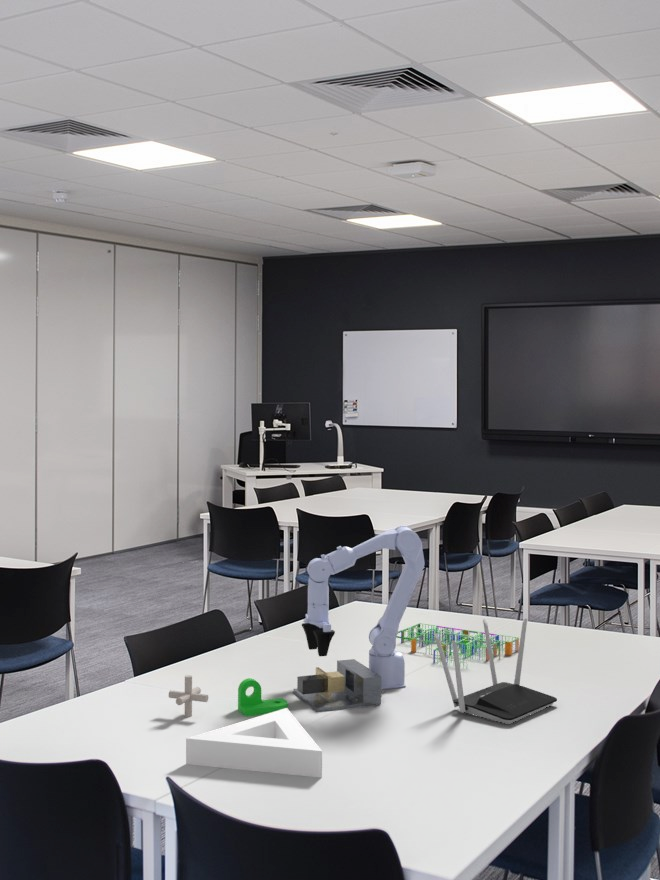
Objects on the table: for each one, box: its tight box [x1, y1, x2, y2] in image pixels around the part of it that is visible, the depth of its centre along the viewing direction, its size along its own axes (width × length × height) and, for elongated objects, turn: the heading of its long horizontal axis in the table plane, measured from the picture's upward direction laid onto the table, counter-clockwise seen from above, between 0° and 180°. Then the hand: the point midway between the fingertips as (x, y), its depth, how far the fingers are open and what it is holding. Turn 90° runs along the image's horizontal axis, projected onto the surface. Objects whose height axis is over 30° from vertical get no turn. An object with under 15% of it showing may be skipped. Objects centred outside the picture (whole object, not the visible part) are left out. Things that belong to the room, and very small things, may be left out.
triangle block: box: [185, 708, 323, 778], centre depth 217 cm, size 30×26×6 cm
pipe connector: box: [168, 674, 209, 718], centre depth 246 cm, size 10×10×10 cm
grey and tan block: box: [296, 666, 345, 700], centre depth 260 cm, size 11×9×6 cm
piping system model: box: [396, 622, 520, 669], centre depth 311 cm, size 35×30×5 cm
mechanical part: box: [237, 677, 289, 717], centre depth 251 cm, size 12×6×8 cm, turn 113°
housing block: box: [293, 658, 382, 713], centre depth 262 cm, size 18×18×8 cm
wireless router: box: [434, 618, 558, 725], centre depth 256 cm, size 34×23×20 cm
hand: (317, 652), depth 272 cm, fingers open, 7 cm apart
